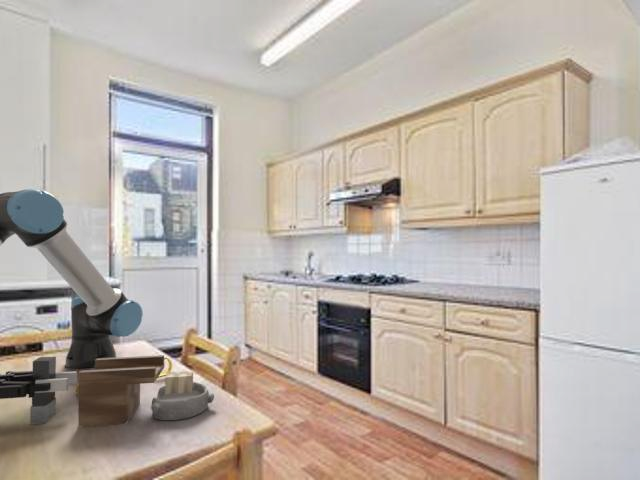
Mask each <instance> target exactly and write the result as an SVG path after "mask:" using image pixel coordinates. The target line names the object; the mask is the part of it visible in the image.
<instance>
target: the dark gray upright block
mask: <svg viewBox="0 0 640 480" xmlns="http://www.w3.org/2000/svg"><path fill="white" fill-rule="evenodd" d="M56 363H57V356H40V357H38V358H36V359H34V360H33V361H32V371H33V374H32V382H34V384H35V381H36V380H44V379H55V376H56V373H57V372H56V371H57V370H56V367H57V366H56V365H57V364H56ZM29 409H30V410H29V412H30V413H29V425H30V426H31V425H32V426H33V425H45V424H46V423H47V422H49V421H50V419H52V418H53V417H54V416H55V415H56V414H57V411H56V409H57V397H56V392H43V393H35V392H34V397H31V406H30V408H29Z"/></svg>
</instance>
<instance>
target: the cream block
mask: <svg viewBox="0 0 640 480" xmlns="http://www.w3.org/2000/svg"><path fill="white" fill-rule="evenodd" d="M180 372H181V371H170V372H168V373H167V375H166V376H164V377H165V378H164V380H165V381H164V386H165V394H175V393H178V376H179V374H180Z"/></svg>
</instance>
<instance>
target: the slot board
mask: <svg viewBox="0 0 640 480" xmlns="http://www.w3.org/2000/svg"><path fill="white" fill-rule="evenodd" d="M164 356H165V355H164V354H163V355H161V354H160V355H159V354H158V355H143V356H142V355H141V356H140V355H139V356H138V355H137V356H123V357H121V356H120V357H119V356H118V357H117V356H116V358H97V359H96V360H95V367H94V368H93V369H88V370H87V369H86V370H80V371H79V372H78V381H77V386H78V395H77V398H78V399H77V401H78V402H77V403H78V405H77V406H78V409H77V410H78V412H77V413H78V417H77V418H78V422H77V423H78V424H77V425H78V428H83V427H84V428H85V427H96V426H109V425H122V424H127V423H128V422H129V420H130V419H131V417H132V416H133V414H134V413H135V411H136V410H137V408H138V406H139V405H140V404H141V384H154V383H156V381H157V379H158V378H159V377H158V376H159V375H161V374H162V372H163V370H164V369H165V360H164Z"/></svg>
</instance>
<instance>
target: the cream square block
mask: <svg viewBox="0 0 640 480" xmlns="http://www.w3.org/2000/svg"><path fill="white" fill-rule="evenodd" d="M179 372H180V374H179V376H178V393H191V392H192V389H193V382H194V370H187V371H186V370H185V371H179Z"/></svg>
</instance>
